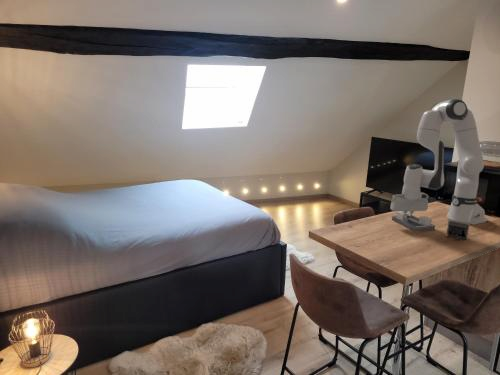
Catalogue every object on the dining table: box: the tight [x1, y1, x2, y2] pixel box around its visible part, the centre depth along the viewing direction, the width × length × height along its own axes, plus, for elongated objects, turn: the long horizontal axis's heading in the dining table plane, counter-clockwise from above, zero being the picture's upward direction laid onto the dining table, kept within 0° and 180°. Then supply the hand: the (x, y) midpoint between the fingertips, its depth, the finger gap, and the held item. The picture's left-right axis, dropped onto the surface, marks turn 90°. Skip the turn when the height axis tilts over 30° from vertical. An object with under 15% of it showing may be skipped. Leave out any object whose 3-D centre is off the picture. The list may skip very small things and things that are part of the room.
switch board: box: [391, 214, 436, 233], centre depth 200 cm, size 12×19×3 cm, turn 16°
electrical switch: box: [445, 219, 471, 241], centre depth 182 cm, size 9×5×9 cm, turn 57°
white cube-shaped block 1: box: [418, 216, 433, 226], centre depth 196 cm, size 4×5×5 cm
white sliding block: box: [396, 211, 409, 222], centre depth 204 cm, size 4×5×5 cm
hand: (407, 218), depth 200 cm, fingers closed
